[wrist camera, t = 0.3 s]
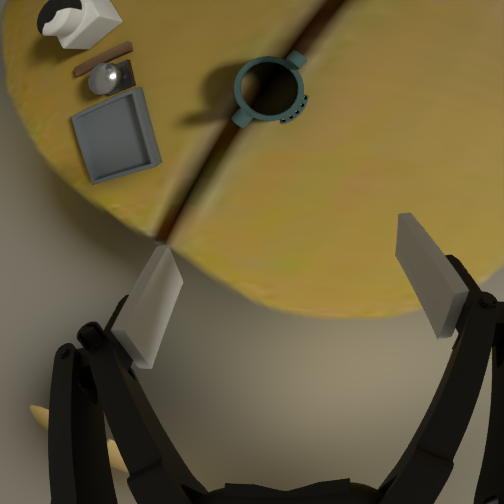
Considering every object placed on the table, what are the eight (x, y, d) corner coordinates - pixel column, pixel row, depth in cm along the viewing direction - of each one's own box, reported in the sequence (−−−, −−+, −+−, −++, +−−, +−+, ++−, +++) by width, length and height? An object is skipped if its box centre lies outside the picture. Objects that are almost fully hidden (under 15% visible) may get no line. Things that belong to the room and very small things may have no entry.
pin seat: (69, 0, 24) (63, -1, 23) (119, -28, 23) (114, -31, 21) (81, 75, 33) (75, 76, 31) (133, 51, 31) (128, 50, 30)
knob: (105, 70, 32) (85, 71, 28) (130, 58, 32) (112, 57, 27) (111, 95, 35) (92, 99, 30) (136, 85, 34) (118, 87, 30)
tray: (79, 114, 36) (71, 116, 34) (142, 87, 34) (134, 88, 32) (100, 179, 43) (92, 185, 41) (162, 161, 41) (156, 166, 39)
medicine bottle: (74, 23, 27) (25, 18, 17) (107, -6, 25) (61, -20, 15) (89, 50, 30) (40, 50, 20) (123, 21, 28) (78, 10, 18)
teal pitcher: (238, 119, 37) (230, 128, 29) (238, 56, 32) (229, 49, 24) (303, 121, 36) (312, 131, 29) (305, 58, 31) (316, 52, 24)
